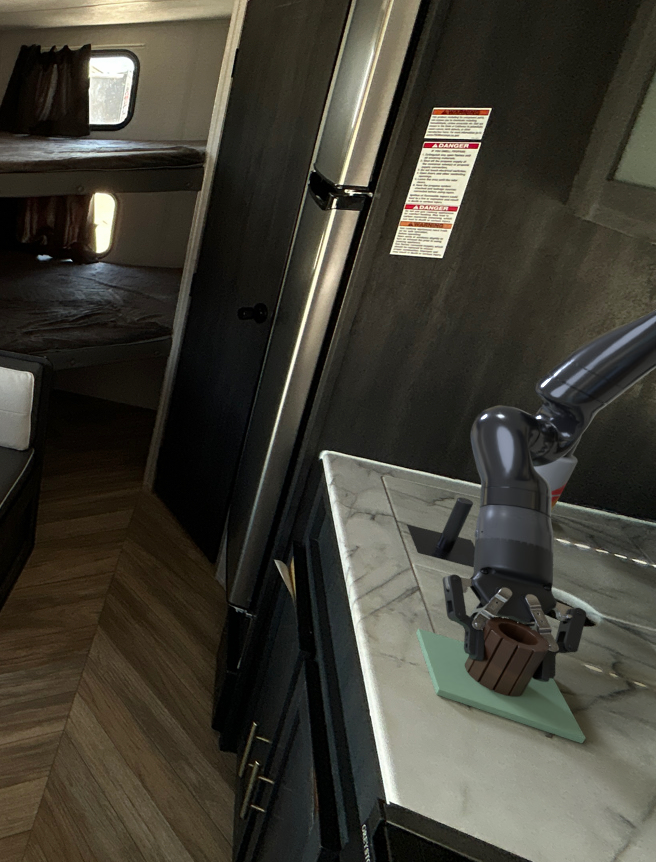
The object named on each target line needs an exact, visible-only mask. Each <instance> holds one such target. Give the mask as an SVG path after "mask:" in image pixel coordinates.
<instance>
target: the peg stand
mask: <svg viewBox="0 0 656 862" xmlns="http://www.w3.org/2000/svg"><path fill="white" fill-rule="evenodd" d="M473 505H474V502H473V500H470V499H469V498H465V497H462V496H461V497H457V499H456V500H455V502H454V505H453V507H452V510H451V512H450V514H449V517H448V519H447V521H446V523H445V525H444V527H443V530H442V532H440V531H436V530H431V529H427V528H424V527H419V526H415V525H412V524H408V523H406V526H407V527H406V528H407V529H408V532H409V534H410V537H411V540H412V542H413V544H414V547H415V549H416V552H417V554H421V555H424V556H429V557H432V558H436V559H439V560H444V561H447V562H451V563H455V564H459V565H462V566H467V567H471V568H474V553H475V544H474V543H473V541H472V540H471V539H469V538H465V537H461V536H460V534H461V531H462V529H463V528H464V525H465V523H466V521H467V519H468V516H469V514H470V512H471V510H472V508H473Z"/></svg>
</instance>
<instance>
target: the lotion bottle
mask: <svg viewBox="0 0 656 862" xmlns="http://www.w3.org/2000/svg"><path fill="white" fill-rule="evenodd" d="M581 439H582V436H581V437H580V438H579V439H578V441H577V442H576V443H575V445H574V446H573V447H572V448H571V450H570V451H569V452H568V453H566V454H565V455H564V456H563V457H561V458H560V459H558V460H556V461H554V462H552V463H550V464H547V465H544V466H538V467H534V469H535V470H536V471H537V472H538V473H539V474H540V475H541V476H542V477H543V478H544V479H546V480H547V482H548V483H549V485H550V487H551V493H552V501H551V513H552V512H553V511H554V509H555V507H556V504H557V503H558V501H559V499H560V498H561V495H562V493H563V491H564V490H565V488H566V486H567V483H568V482H569V480H570V478H571V476H572V474H573V472H574V470H575V468H576V466H577V464H578V462H579V461H578V458H577V457H576V456H575V455H574V453H575V451H576V449H577V448H578V447H577V446H578V445H579V443H580V441H581Z"/></svg>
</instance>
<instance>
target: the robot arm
mask: <svg viewBox="0 0 656 862" xmlns="http://www.w3.org/2000/svg"><path fill="white" fill-rule="evenodd" d="M655 369H656V308H655V309H653V310H651V311H649V312H647V313H645V314H644V315H642V316H639V317H637V318H635V319H632V320H631V321H628V322H626V323H624V324H621V325H619V326H617V327H614V328H612V329H609V330H607V331H605V332H602V333H600V334H599V335H597V336H595V337H593V338H591V339H589V340H587V341H586V342H584V343H583V344H581V345H580V346H578V347H577V348H576V349H574V350H573V351H572V352H570V353H569V354H568V355H567V356H565V357H564V358H563V359H562V360H560V362H558V363H557V364H556V365H555V366H554V367H553V368H551V369H550V370H549V371H548V372H546V374H544V375H543V376H541V378H540V379H539V380H538V381H537V382H536V383H535V385H534V387H533V390H534V392H535V394H536V395H537V396H538V397H539V398H540V399H541V400H542V403H541V404H540V406H539V407H538V408H537V410H536V412H535V413H534V414H531V413H529V412H527V411H524V410H522V409H520V408H517V407H515V406H511V405H503V404H501V405H495V406H490V407H488V408H486V409H484V410H482V411H481V412H480V413H479V414H477V416H476V417H475V418H474V421H473V422H472V424H471V427H470V432H469V433H470V434H469V439H470V445H471V451H472V454H473V459H474V462H475V466H476V470H477V473H478V476H479V479H480V484H481V485H480V495H479V509H478V510H479V511H478V515H477V519H476V524H475V530H474V534H473V535H474V547H475V553H474V567H473V574H472V575H471V577H470V578H468V577H461V576H460V575H458V574H450V575H446V576H443V578H442V586H443V594H444V602H445V610H446V616H447V618H448V619H449V620H450V621H452V622H455V623H457V624H459V625H460V626H462V627H463V629H464V639H463V642H464V650H465V653H467V654H469V659H471V660H474V661H483V658H484V641H485V640H484V632H482V630H483V628H484V627H485V625H486V622H487V620H490V619H491V618H493V617H502V618H504V617H505V618H508V619H512V620H515V621H517V623H519V622H521V623H523V624H525V625H527V626H529V627H531V628H532V630H536V631H537V632H538V633H539V634H541V635H542V636H543V637H544V638H545V639H546V640H547V641H548V643H549V645H550V648H549V650H548V652H547V653H546V655H545V657H544V659H543V660H542V662H541V664H540V666H539V667H538V669H537V671H536V672H535V674H534V676H533V679H535V680H538V681H541V682H548V681H549V679H550V678H551V679H554V678H555V676H556V667H557V666H556V663H557V662H556V661H557V659H556V657H557V654H559V653H560V654H566V653H571V654H573V653H577V652H578V651H579V647H580V643H581V640H582V636H583V635H582V633H583V630H584V627H585V623H586V619H587V611H586V610H584V609H583V608H581V607H571V606H569V605H566V604H564V603H561V602H559V601H557V599H556V597H555V596H554V594H553V583H554V541H555V538H554V529H553V524H552V512H551V501H552V493H551V487H550V485H549V483H548V482H547V480H546V479H544V478H543V477H542V476H541V475H540V474H539V473H538V472H537V471H536V470H535V469H534V467H538V466H544V465H547V464H550V463H552V462H554V461H556V460H558V459H560V458H561V457H563V456H564V455H565V454H566V453H568V452H569V451H570V450H571V448H572V447H573V446H574V445H575V443H576V442H577V441H578V439H579V438H580V437H581V438H582V435H583V434H584V432H586V430H587V428H588V427H589V426H590V424H591V423H592V421H593V419H595V416H597V414H598V413H599V412H600V411H601V410H602V409H604V408H605V407H607V406H608V405H609V404H611V403H612V402H613V401H614V400H616V399H617V398H619V397H620V396H621V395H623V394H624V393H625V392H626V391H627V390H629V389H630V388H631V387H632V386H634V385H635V384H636V383H638V381H640V380H641V379H643V378H644V377H646V376H647V375H648V374H650V373H651V372H652V371H654V370H655ZM468 588H470V589H471V591H472V592H473V594H474V595H475V596H476V598H477V600H478V602H477V604H476V605H475V607H473V609H471V612H470V615H468V614H467V610H466V602H465V595H464V594H465V593H468V590H469V589H468ZM551 611H554V613H555V618H556V619H557V620H558V621H559V624H558V627H557V632H556V636H555V637H554V635H553V633H552V632H553V630H552V627H551V625H550V623H549V621H548V619H547V616H546V615H547V614H548V613H549V612H551Z"/></svg>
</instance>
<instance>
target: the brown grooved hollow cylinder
mask: <svg viewBox="0 0 656 862" xmlns="http://www.w3.org/2000/svg"><path fill="white" fill-rule="evenodd" d="M482 632H484V640H485V641H484V658H483V661H474V660H471V659H469V657H468V659H467V661H466V662H465V665H464V666H465V668H466V671H467V672H468V673H469V675H470V676H471V677H472V678H473V679H474V680H475V681H476V682H480V683H479V684H481V685H482V686H484V687H486V688H488V689H489V690H491V691H492V690H494V692H496V693H499V694H502V695H505V696H507V695H509V696H521V695H522V694H523V693H524V691H525V690H526V688H527V686H528V684H529V683H530V681H531V679H532V678H533V676H534V674H535V672H536V671H537V669H538V667H539V666H540V664H541V662H542V660H543V659H544V657H545V655H546V653H547V652H548V650H549V648H550V645H549V643H548V641H547V640H546V639H545V638H544V637H543V636H542V635H541V634H539V633H538V632H537V631H536V630H532V628H531V627H529V626H527V625H525V624H523V623H521V622H517V621H515V620H512V619H509V618H507V617H498V616H494V617H493V618H491V619H490V620H487V622H486V625H485V627H484V628H483V629H482Z"/></svg>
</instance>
